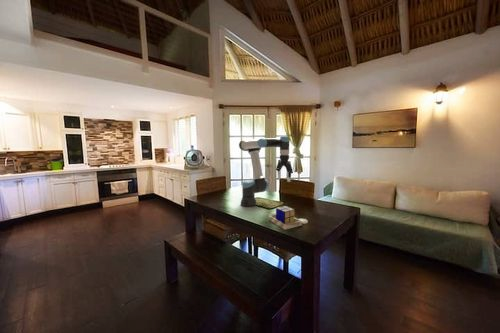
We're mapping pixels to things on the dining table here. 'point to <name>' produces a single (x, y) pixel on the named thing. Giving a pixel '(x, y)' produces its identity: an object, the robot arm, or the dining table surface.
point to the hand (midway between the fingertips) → (283, 180)
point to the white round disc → (304, 221)
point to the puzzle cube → (285, 214)
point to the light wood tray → (285, 226)
